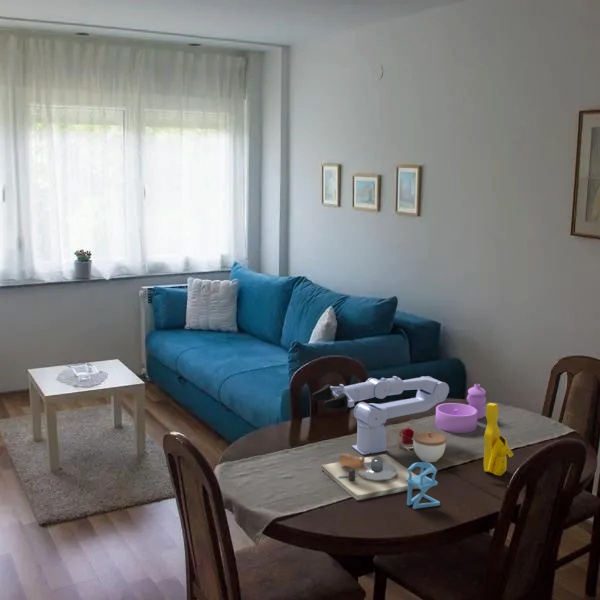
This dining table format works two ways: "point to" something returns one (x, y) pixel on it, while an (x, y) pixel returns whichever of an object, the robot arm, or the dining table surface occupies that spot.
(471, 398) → the container set
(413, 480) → the blue abstract sculpture
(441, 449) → the lidded jar
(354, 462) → the grey and orange-brown pieces
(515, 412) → the dining table surface
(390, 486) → the base board
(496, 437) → the figure statuette
